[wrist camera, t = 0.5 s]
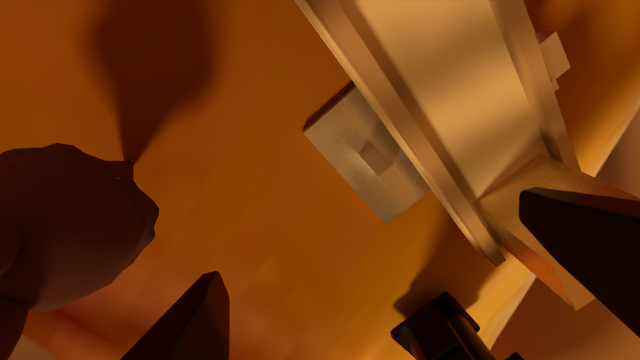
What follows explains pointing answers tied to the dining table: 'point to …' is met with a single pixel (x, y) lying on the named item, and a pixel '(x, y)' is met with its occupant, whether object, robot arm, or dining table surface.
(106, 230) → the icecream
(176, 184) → the dining table surface
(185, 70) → the dining table surface
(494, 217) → the tan block
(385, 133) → the stand
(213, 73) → the dining table surface
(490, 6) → the beam
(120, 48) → the dining table surface
